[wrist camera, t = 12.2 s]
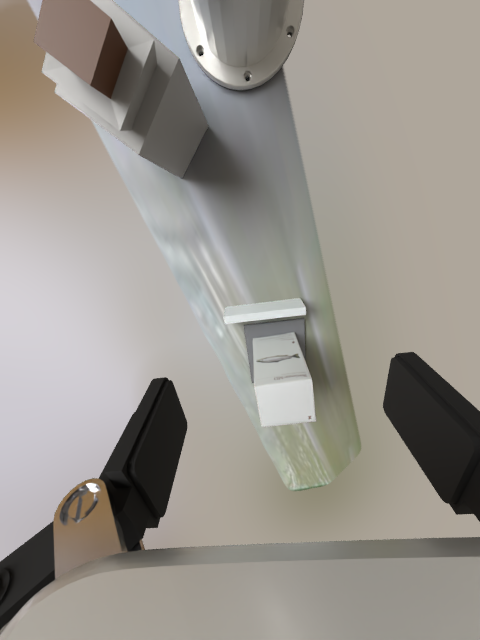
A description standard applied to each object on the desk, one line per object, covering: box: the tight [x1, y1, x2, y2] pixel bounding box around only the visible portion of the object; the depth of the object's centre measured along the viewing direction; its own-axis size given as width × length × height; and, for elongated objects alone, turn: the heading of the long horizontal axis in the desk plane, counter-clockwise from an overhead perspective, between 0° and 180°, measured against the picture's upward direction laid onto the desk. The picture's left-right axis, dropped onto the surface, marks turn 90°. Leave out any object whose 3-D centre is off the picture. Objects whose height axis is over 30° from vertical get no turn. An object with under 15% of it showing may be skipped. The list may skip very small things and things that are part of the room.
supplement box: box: [253, 332, 316, 427], centre depth 35 cm, size 7×7×13 cm
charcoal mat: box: [244, 318, 306, 383], centre depth 41 cm, size 12×10×1 cm
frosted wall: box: [223, 298, 306, 324], centre depth 36 cm, size 1×12×4 cm, turn 98°
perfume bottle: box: [34, 0, 208, 178], centre depth 21 cm, size 7×7×18 cm
